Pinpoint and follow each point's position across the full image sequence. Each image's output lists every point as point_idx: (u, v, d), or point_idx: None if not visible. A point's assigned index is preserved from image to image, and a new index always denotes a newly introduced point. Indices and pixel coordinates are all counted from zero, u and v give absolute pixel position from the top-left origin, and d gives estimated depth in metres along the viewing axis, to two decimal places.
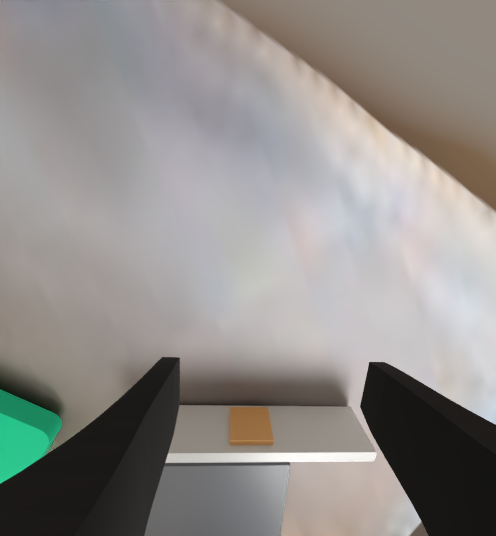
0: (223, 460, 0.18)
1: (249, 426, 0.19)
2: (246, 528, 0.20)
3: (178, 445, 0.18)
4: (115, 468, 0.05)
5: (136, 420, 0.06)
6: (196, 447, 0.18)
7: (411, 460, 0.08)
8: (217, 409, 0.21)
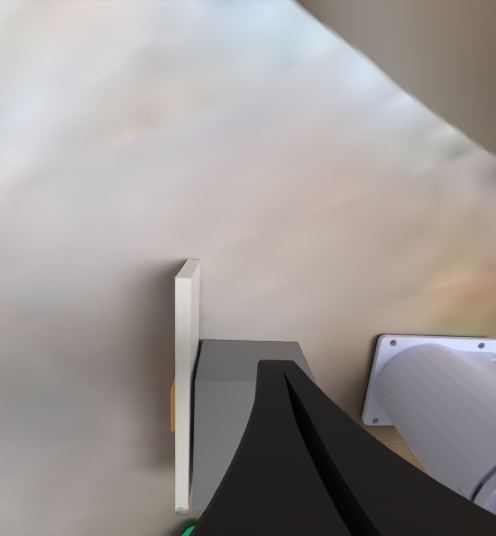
0: (185, 445, 0.16)
1: None
2: None
3: None
4: (313, 467, 0.05)
5: (290, 421, 0.06)
6: None
7: None
8: None
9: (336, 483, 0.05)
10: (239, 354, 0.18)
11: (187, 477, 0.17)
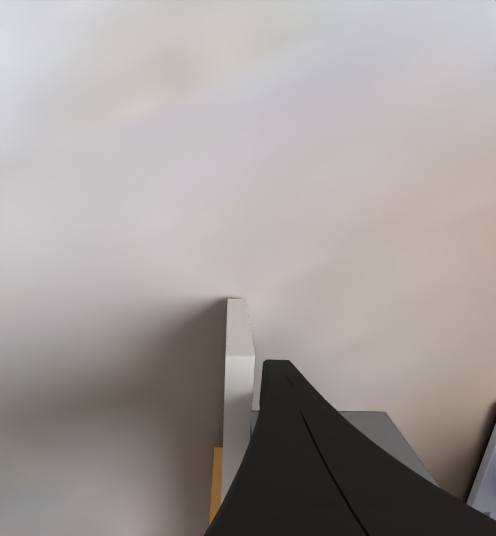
0: None
1: None
2: None
3: None
4: (324, 466, 0.05)
5: (298, 421, 0.06)
6: None
7: None
8: None
9: (327, 483, 0.05)
10: None
11: None
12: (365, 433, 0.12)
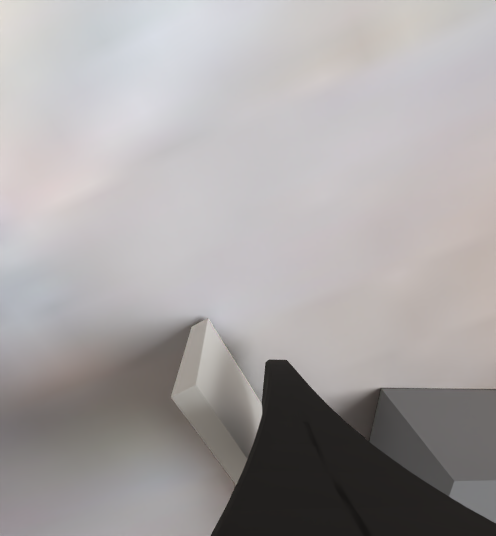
0: None
1: None
2: None
3: None
4: (328, 466, 0.05)
5: (302, 421, 0.06)
6: None
7: None
8: None
9: (323, 482, 0.05)
10: (459, 416, 0.12)
11: None
12: None
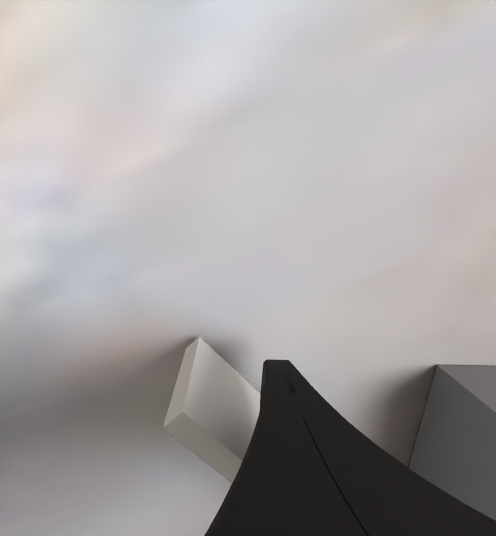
0: None
1: None
2: None
3: None
4: (324, 466, 0.05)
5: (299, 421, 0.06)
6: None
7: None
8: None
9: (327, 483, 0.05)
10: None
11: None
12: None
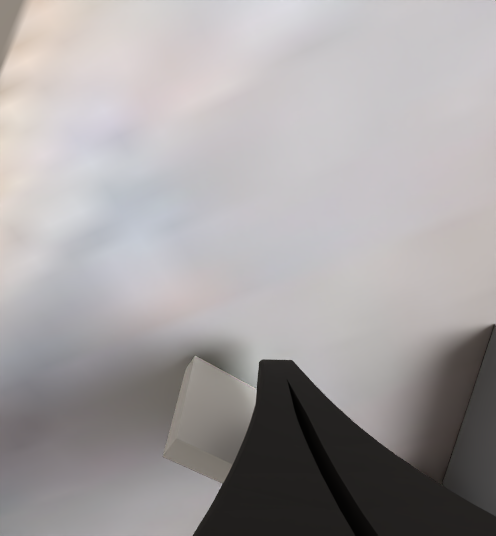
0: None
1: None
2: None
3: None
4: (316, 466, 0.05)
5: (292, 421, 0.06)
6: None
7: None
8: None
9: (334, 483, 0.05)
10: None
11: None
12: None
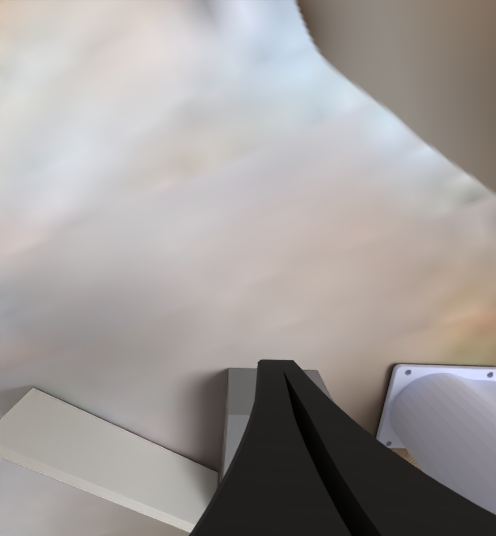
0: (144, 506, 0.17)
1: None
2: None
3: None
4: (313, 467, 0.05)
5: (290, 421, 0.06)
6: None
7: None
8: None
9: (336, 483, 0.05)
10: None
11: (179, 518, 0.18)
12: None
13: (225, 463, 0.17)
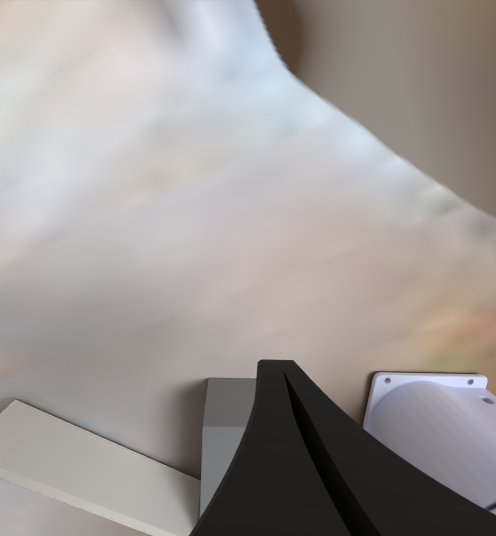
0: (123, 517, 0.18)
1: None
2: None
3: None
4: (313, 467, 0.05)
5: (290, 421, 0.06)
6: None
7: None
8: None
9: (335, 483, 0.05)
10: (243, 394, 0.19)
11: (158, 528, 0.18)
12: None
13: (202, 474, 0.17)
